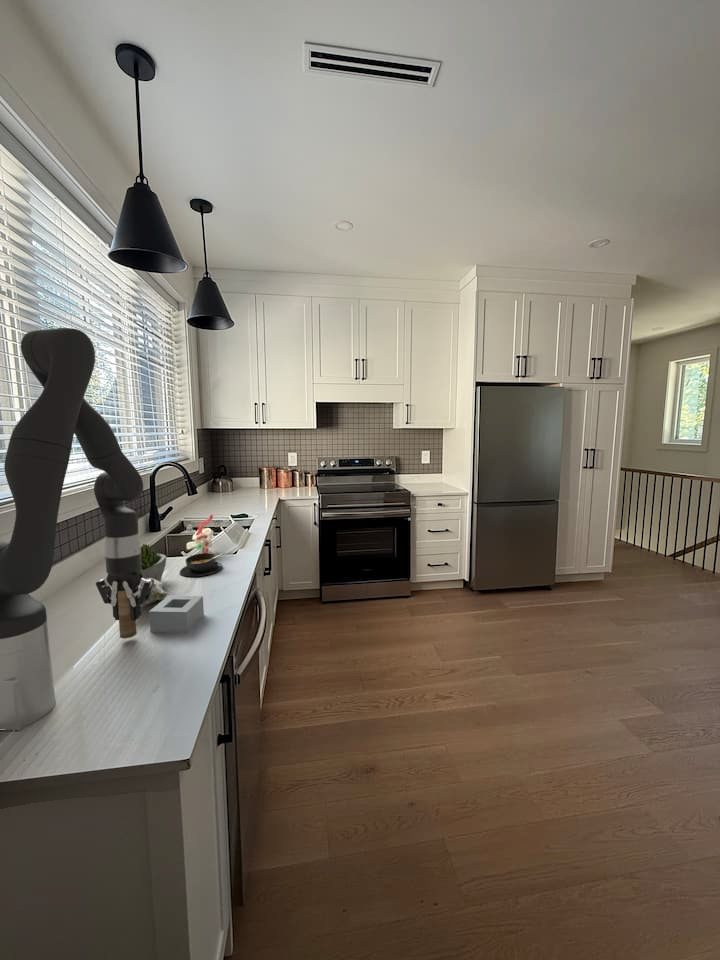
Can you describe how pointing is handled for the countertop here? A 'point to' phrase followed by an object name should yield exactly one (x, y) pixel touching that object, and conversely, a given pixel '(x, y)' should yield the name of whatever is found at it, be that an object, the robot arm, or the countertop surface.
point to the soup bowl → (200, 565)
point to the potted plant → (152, 563)
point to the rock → (155, 592)
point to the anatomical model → (202, 537)
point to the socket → (176, 614)
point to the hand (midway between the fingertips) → (127, 618)
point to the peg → (125, 616)
